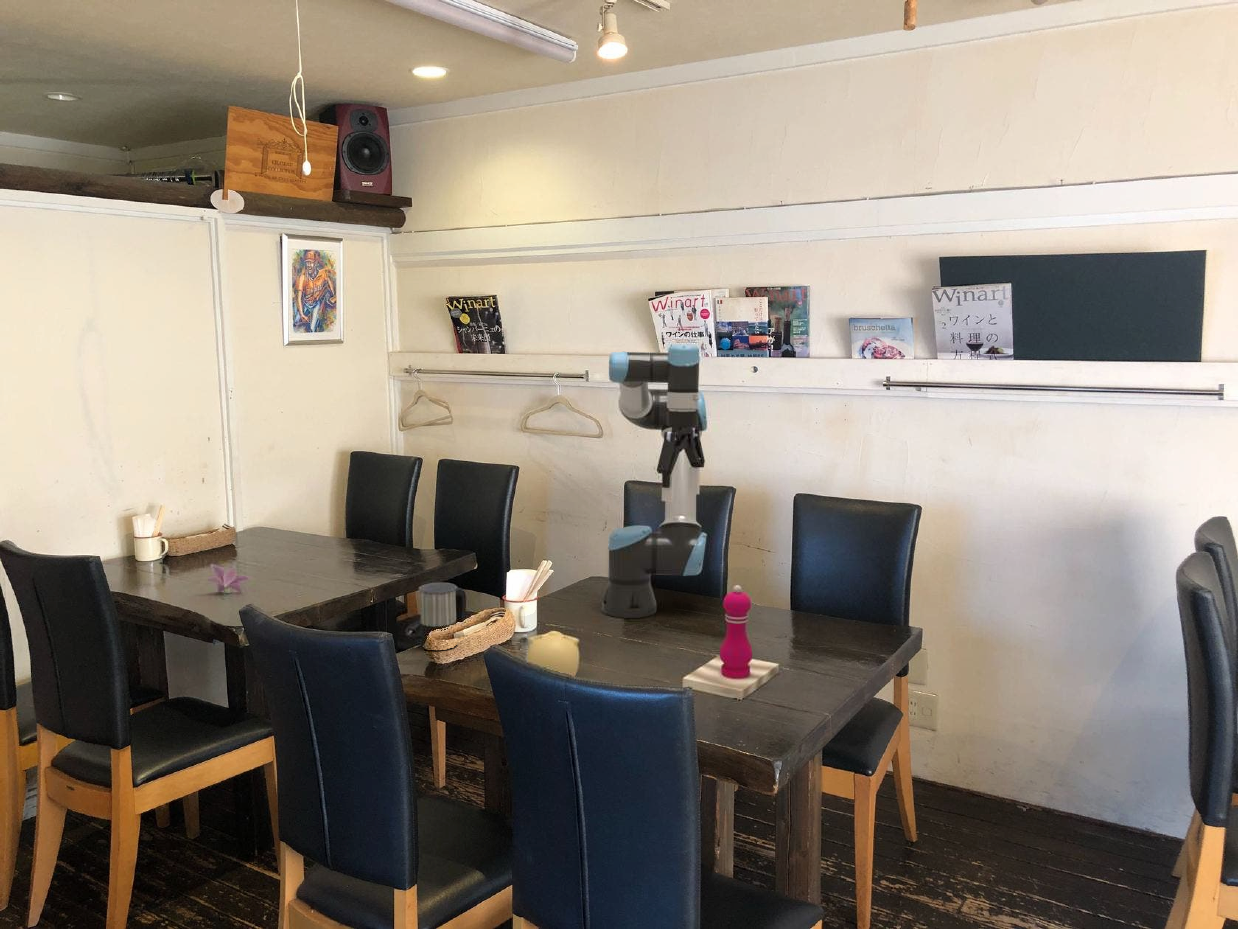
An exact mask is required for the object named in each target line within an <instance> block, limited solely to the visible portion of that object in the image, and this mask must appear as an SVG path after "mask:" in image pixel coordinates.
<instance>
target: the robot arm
mask: <svg viewBox="0 0 1238 929" xmlns="http://www.w3.org/2000/svg"><path fill="white" fill-rule="evenodd" d="M667 351H668V352H645V351H644V352H639V351H637V352H636V351H635V352H634V351H631V352H630V351H621V352H616V351H615V352H612V353H611V354H610V355H609V357H608V358H609V359H608V379H609V380H610V382H611V383H618V384H619V392H620V394H619V396H618V408H619V411H620V413H621V415H622V416H623V417H624V418H625V419H626V420H627V421H628V422H630V423H631V424H633V425H635V426H637V427H639V428H641V429H646V430H653V431H655V430H657V431H660V435H661V437H662V438H663V442H662V447H661V450H660V453H659V454H660V455H659V458H658V463H657V467H656V472H657V473H658V474H660V475H661V502H662V501H663V502H665V505H664V509H665V510H664V521H663V522H662V523H661V524H659V526H658V527H659V531H653V530H652V527H651V526H648V525H642V524H641V525H631V526H629V525H628V526H624V527H619V528H617V529H615V530H613V531H612V532H611V533H610V534H609V539H608V547H607V550H608V579H607V580H608V583H607V586H606V589H605V593H604V595H603V598H602V602H601V612H602V613H604V614H605V615H607V616H610V617H614V618H623V619H638V618H639V619H640V618H645V617H650V616H653V615H655V614H656V612H657V601H656V598H655V594H654V590H653V587H652V584H651V579H652V578H651V576H652V575H657V576H659V575H660V576H662V575H663V576H683V577H687V576H697V575H699V574H701V572H702V570H703V564H704V557H705V550H706V543H707V536H708V535H707V533H705V532H702V525H701V524H700V523H698V521H697V495H700V484H701V483H700V480H701V477H700V476H701V468H702V469H703V468H704V467H705V463H706V462H705V461H706V460H705V456H704V451H703V447H702V446H703V445H702V440H701V437H702V435H703V432H704V431H706V430H708V429H707V428H708V420H707V408H706V401H705V397H704V394H703V392H702V391H700V390H699V384H700V382H699V381H700V362H701V358H700V348H699V346H697V345H691V344H689V345H684V344H683V345H681V344H680V345H678V344H677V345H673V344H672V345H670V346H669V347H668V350H667ZM649 383H651V384H653V383H656V384H661V383H662V384H667V389H652V388H651V389H649Z"/></svg>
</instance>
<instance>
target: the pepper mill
mask: <svg viewBox="0 0 1238 929" xmlns="http://www.w3.org/2000/svg"><path fill="white" fill-rule="evenodd" d="M722 606H723V608H724V609H723V610H725V615H724V616H725V621H726V624H727V625H726V626H727V627H726V633H725V637H724V640H723V641H722V644H721V645H720V648H719V654H718V656H720V659H721V660H722V662H723V663H724V664H722V666H721V673H722V675H724V676H725V677H728V678H736V679H740V678H746V677H748V676H749V675H750V666H749V665H748V663H749V662H750V661H751V660H752V659H753V657H754V656H753V649H752V646H751V644H750V641H749V639H748V636H747V631H746V630H747V628H746V627H747V622H749V614H748V613H749V611H750V610H751V606H752V602H751V599H750V597H749V595H748V594H746V593H744V592H742V587H741V586H740V584H739V585H738V584H737V585H734V586H733V591H731V592H729V593H727V594H726V595H725V597H724V599H723V604H722Z"/></svg>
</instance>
